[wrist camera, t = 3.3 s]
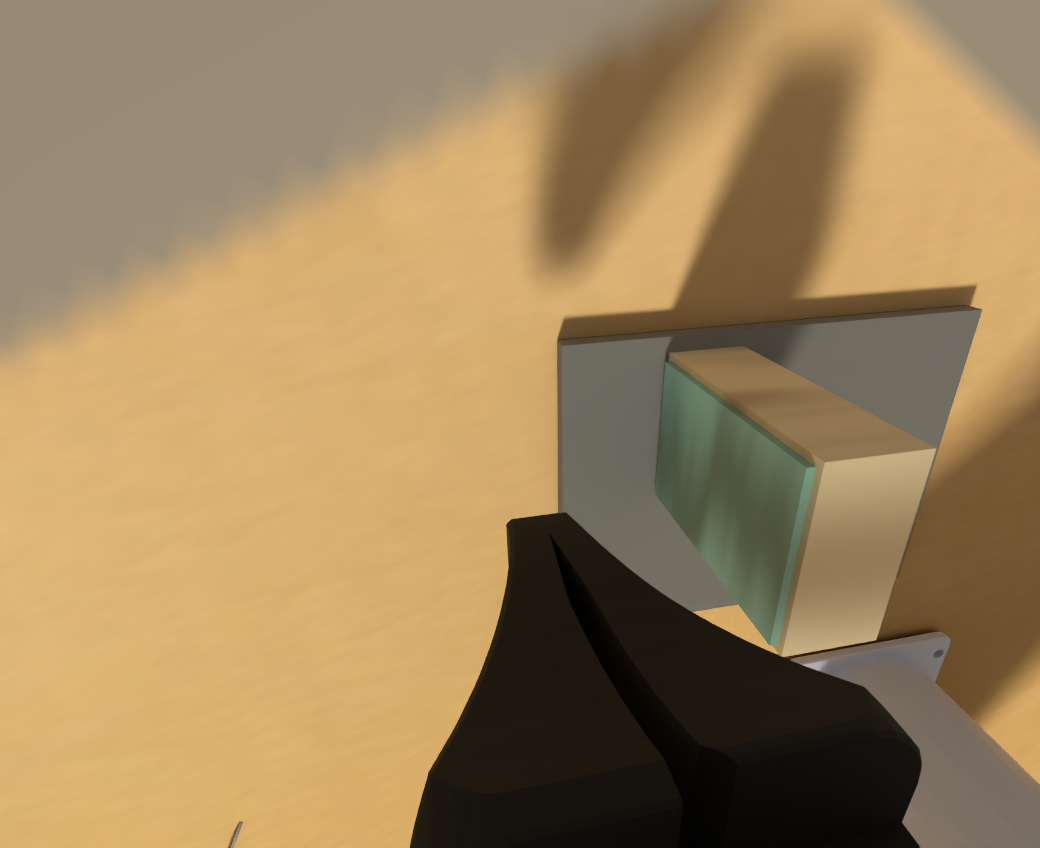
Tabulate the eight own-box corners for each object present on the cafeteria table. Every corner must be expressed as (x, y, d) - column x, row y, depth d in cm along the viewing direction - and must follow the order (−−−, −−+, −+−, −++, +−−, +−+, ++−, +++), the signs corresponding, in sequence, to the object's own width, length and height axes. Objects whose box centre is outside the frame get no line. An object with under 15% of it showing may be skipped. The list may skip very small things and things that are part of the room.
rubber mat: (886, 568, 23) (897, 577, 23) (559, 621, 21) (562, 633, 21) (965, 305, 19) (982, 309, 18) (557, 340, 17) (562, 345, 16)
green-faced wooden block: (724, 486, 19) (876, 640, 13) (652, 495, 19) (773, 659, 13) (743, 345, 17) (936, 448, 11) (663, 353, 17) (815, 464, 10)
